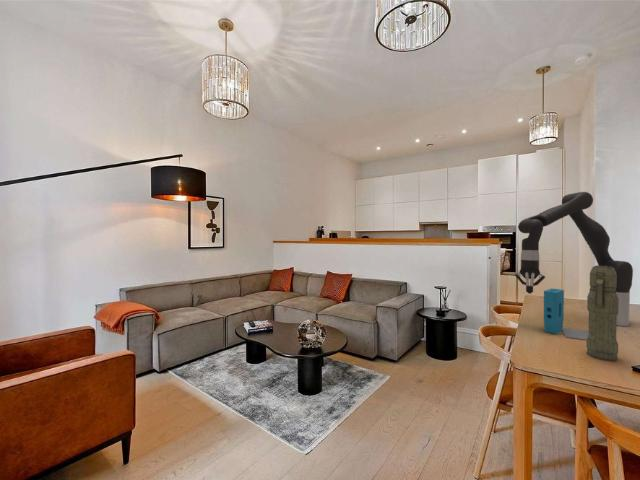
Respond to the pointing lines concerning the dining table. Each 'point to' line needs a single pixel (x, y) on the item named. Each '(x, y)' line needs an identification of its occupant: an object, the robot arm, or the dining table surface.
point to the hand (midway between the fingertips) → (529, 293)
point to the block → (553, 310)
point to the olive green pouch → (602, 313)
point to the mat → (575, 333)
